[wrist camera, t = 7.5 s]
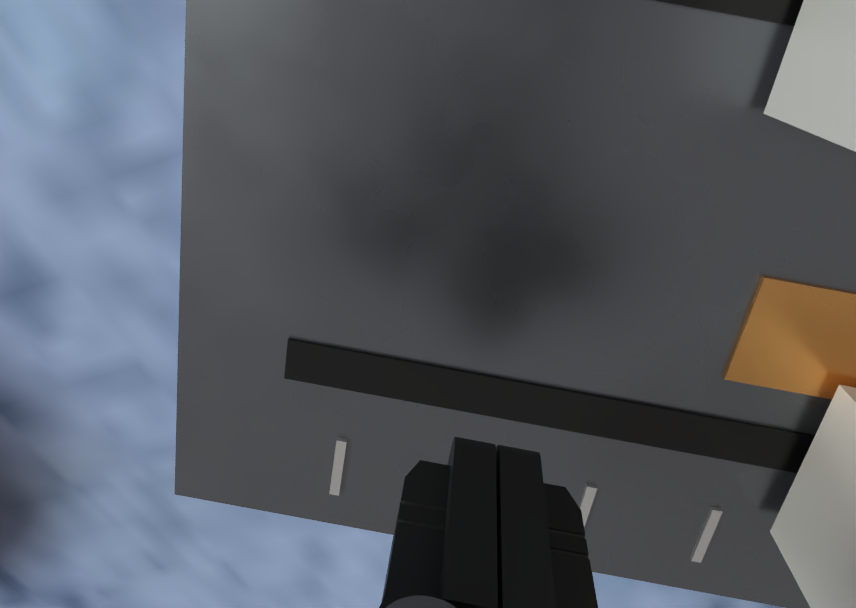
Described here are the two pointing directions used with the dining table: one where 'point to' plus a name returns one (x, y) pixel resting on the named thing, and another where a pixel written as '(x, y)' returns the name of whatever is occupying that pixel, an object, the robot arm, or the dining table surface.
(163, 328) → the dining table surface
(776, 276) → the console
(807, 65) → the fader
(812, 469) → the fader
